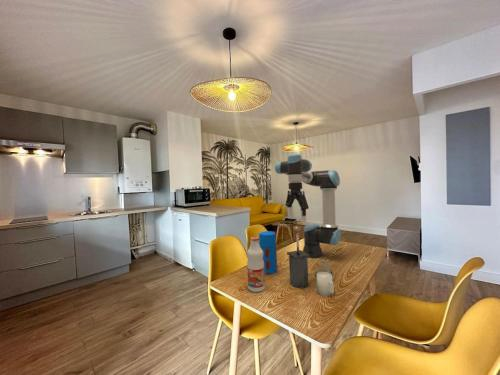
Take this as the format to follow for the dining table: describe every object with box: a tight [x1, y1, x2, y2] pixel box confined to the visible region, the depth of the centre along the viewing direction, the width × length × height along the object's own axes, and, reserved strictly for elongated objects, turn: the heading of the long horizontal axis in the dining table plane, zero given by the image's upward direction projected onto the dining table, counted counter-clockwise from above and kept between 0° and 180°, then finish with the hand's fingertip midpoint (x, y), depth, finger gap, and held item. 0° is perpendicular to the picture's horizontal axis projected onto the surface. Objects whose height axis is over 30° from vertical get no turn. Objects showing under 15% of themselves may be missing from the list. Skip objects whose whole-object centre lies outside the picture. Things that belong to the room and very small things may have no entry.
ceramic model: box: [313, 260, 335, 283], centre depth 123 cm, size 14×11×10 cm
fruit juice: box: [246, 236, 266, 293], centre depth 114 cm, size 9×9×28 cm
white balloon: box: [316, 272, 335, 297], centre depth 106 cm, size 8×10×9 cm
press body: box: [286, 249, 310, 289], centre depth 118 cm, size 10×13×17 cm
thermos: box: [258, 230, 278, 276], centre depth 135 cm, size 11×11×25 cm
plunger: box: [293, 225, 302, 255], centre depth 117 cm, size 8×8×18 cm
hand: (296, 220), depth 117 cm, fingers open, 13 cm apart
